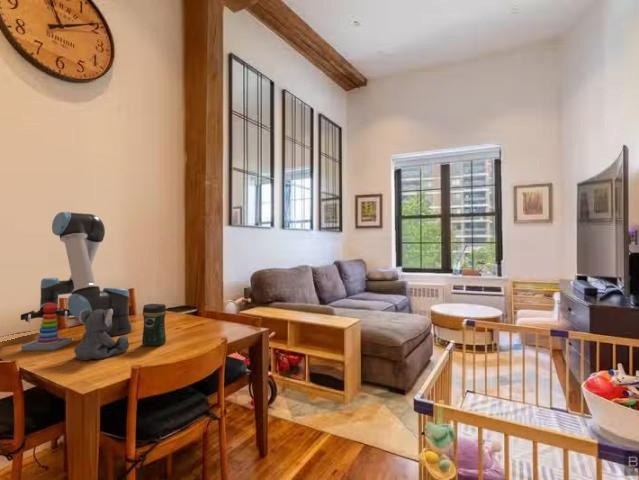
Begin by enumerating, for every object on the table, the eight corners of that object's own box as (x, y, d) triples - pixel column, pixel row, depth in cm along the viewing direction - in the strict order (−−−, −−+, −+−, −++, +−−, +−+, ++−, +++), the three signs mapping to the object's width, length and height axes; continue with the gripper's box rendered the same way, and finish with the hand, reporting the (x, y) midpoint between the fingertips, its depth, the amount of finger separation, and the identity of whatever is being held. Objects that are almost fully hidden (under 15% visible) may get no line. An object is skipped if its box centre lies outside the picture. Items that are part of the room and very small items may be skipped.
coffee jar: (168, 342, 167) (169, 302, 167) (158, 347, 159) (159, 305, 159) (150, 341, 168) (150, 302, 169) (138, 345, 161) (139, 304, 161)
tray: (71, 342, 165) (72, 337, 165) (54, 350, 152) (54, 345, 152) (41, 342, 164) (41, 337, 164) (21, 351, 151) (21, 345, 151)
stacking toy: (46, 348, 153) (47, 304, 153) (31, 346, 155) (33, 303, 155) (63, 343, 161) (64, 302, 161) (49, 342, 162) (50, 301, 163)
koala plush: (132, 350, 154) (133, 305, 154) (97, 364, 136) (98, 313, 137) (98, 347, 158) (99, 303, 158) (61, 360, 140) (62, 310, 140)
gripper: (78, 315, 188) (80, 322, 171) (16, 320, 173) (12, 329, 156) (78, 301, 188) (80, 307, 171) (16, 305, 173) (12, 312, 156)
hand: (48, 317), depth 163 cm, fingers open, 13 cm apart
